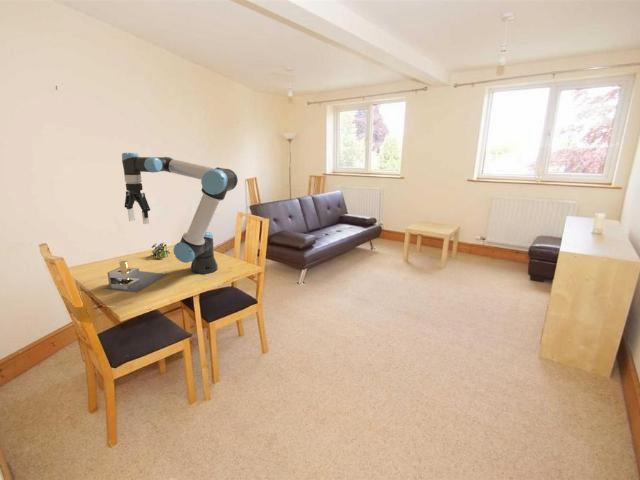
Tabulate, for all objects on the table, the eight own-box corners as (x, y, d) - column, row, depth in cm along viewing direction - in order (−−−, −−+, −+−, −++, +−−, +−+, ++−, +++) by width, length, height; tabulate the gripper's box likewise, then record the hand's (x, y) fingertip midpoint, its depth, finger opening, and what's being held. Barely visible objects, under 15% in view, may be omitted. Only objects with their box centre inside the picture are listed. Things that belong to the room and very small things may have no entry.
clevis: (140, 283, 162) (138, 268, 160) (127, 290, 154) (125, 274, 151) (123, 281, 164) (121, 266, 161) (109, 288, 155) (107, 272, 153)
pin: (132, 284, 160) (129, 261, 157) (127, 287, 157) (124, 263, 153) (126, 284, 160) (123, 260, 157) (121, 286, 157) (117, 262, 154)
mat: (169, 274, 176) (169, 274, 175) (137, 293, 152) (137, 292, 152) (139, 271, 178) (139, 271, 178) (103, 289, 155) (103, 288, 155)
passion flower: (156, 264, 207) (153, 247, 210) (173, 260, 209) (170, 243, 212) (150, 259, 196) (148, 242, 199) (169, 255, 199) (166, 238, 202)
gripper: (154, 184, 161) (159, 223, 166) (127, 181, 173) (133, 218, 178) (140, 184, 154) (145, 226, 160) (113, 181, 167) (119, 220, 172)
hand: (139, 222), depth 169 cm, fingers open, 13 cm apart
